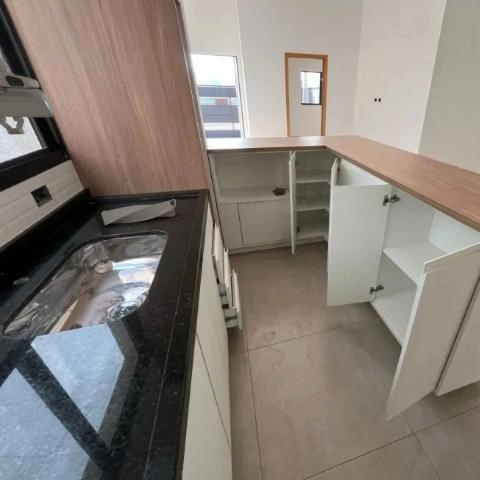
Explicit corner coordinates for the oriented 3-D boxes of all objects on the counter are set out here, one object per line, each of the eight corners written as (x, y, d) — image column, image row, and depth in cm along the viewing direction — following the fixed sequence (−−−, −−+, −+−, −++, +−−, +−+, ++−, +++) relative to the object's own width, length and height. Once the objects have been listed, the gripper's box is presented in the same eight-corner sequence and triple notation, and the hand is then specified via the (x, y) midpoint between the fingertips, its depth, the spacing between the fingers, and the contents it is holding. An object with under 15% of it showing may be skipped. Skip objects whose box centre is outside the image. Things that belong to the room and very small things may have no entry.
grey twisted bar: (98, 209, 107) (175, 199, 119) (103, 207, 114) (175, 197, 125) (105, 228, 110) (179, 216, 122) (109, 224, 116) (179, 214, 128)
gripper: (-77, 75, 64) (-42, 136, 70) (35, 80, 71) (57, 135, 78) (-58, 76, 69) (-27, 133, 75) (44, 81, 76) (64, 132, 83)
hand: (16, 134), depth 77 cm, fingers closed
